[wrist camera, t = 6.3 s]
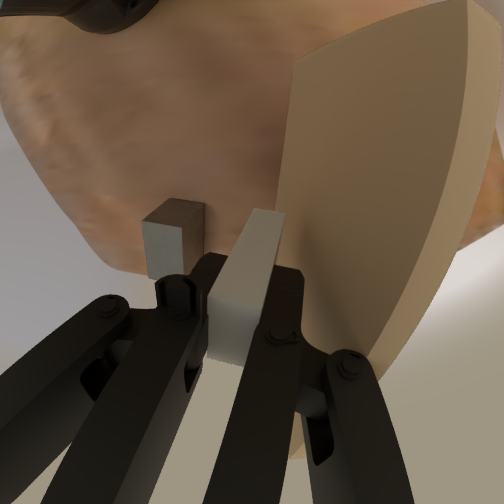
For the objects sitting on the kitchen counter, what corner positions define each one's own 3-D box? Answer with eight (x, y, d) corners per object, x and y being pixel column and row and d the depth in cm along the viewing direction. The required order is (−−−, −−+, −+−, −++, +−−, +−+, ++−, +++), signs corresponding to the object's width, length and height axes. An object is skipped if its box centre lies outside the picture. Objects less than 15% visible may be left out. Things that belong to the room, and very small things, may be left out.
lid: (308, 64, 16) (294, 61, 15) (500, 24, 2) (466, -4, 2) (276, 270, 25) (265, 270, 25) (307, 457, 11) (289, 459, 11)
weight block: (169, 198, 35) (141, 220, 29) (204, 203, 34) (181, 227, 28) (171, 250, 39) (148, 278, 33) (203, 256, 39) (184, 286, 33)
